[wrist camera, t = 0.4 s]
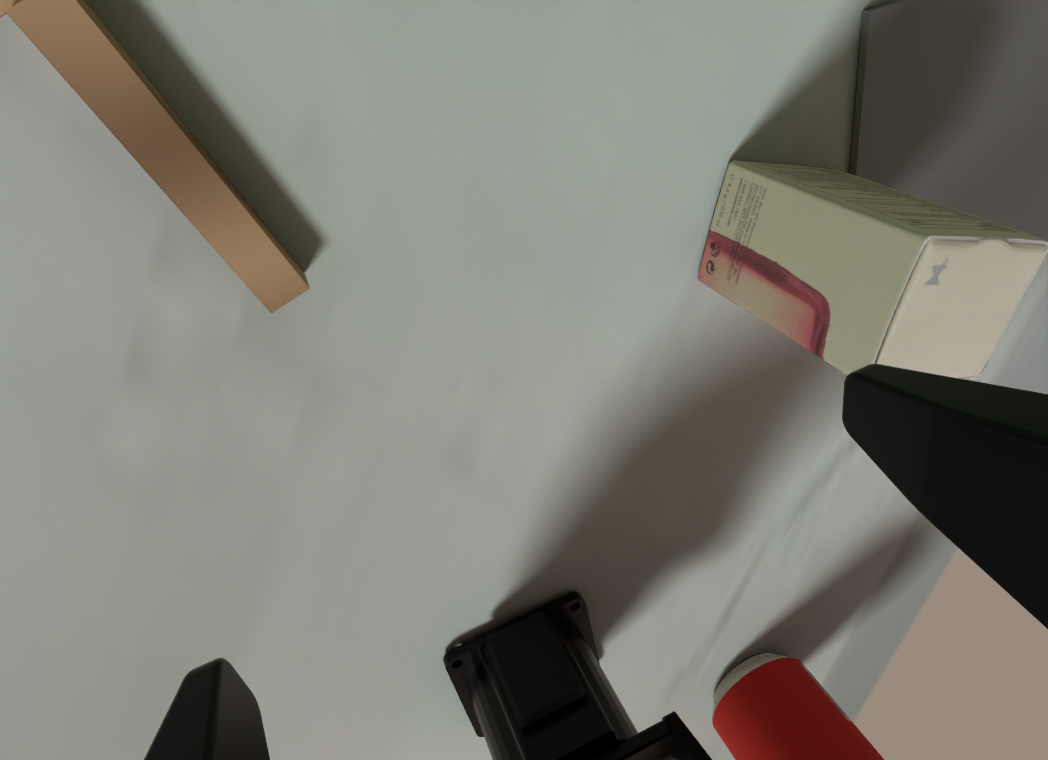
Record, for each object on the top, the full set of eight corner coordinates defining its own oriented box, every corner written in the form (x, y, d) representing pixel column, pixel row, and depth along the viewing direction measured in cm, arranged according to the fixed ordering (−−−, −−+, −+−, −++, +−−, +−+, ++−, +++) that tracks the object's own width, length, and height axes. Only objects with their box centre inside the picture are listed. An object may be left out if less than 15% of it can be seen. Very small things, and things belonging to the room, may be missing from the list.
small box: (691, 280, 25) (860, 394, 18) (726, 155, 23) (930, 235, 16) (799, 281, 27) (984, 383, 20) (841, 167, 25) (1061, 241, 18)
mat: (1056, 235, 31) (1062, 237, 31) (836, 330, 29) (841, 333, 28) (1143, -81, 24) (1153, -81, 24) (863, 10, 22) (870, 11, 22)
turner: (357, 240, 19) (363, 252, 18) (215, 333, 19) (216, 349, 18) (-161, -482, 11) (-189, -516, 10) (-425, -327, 11) (-475, -349, 10)
